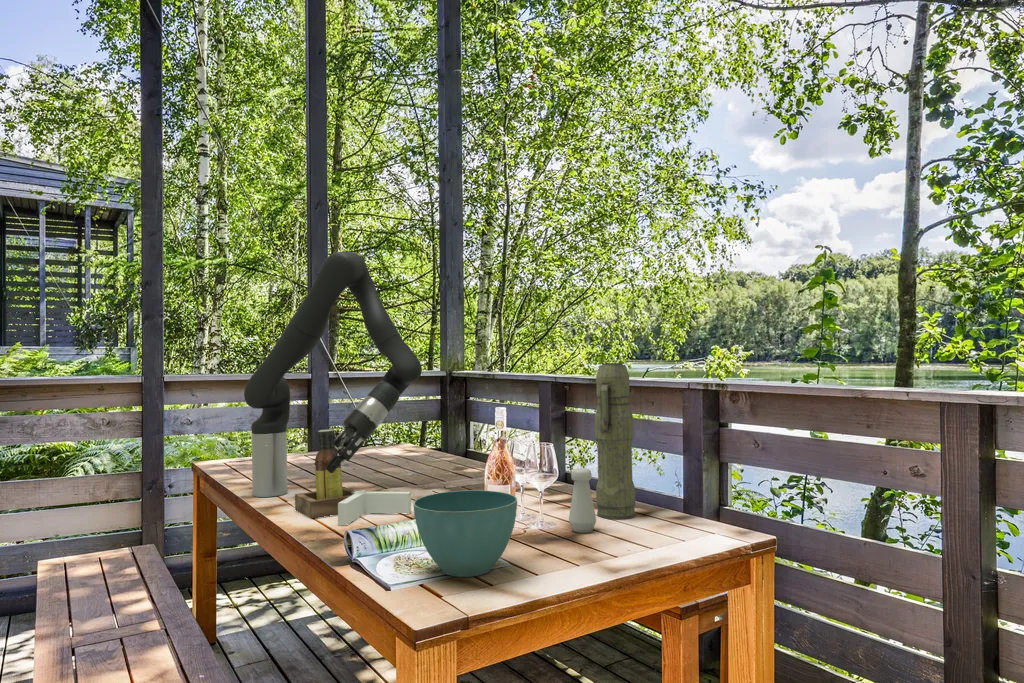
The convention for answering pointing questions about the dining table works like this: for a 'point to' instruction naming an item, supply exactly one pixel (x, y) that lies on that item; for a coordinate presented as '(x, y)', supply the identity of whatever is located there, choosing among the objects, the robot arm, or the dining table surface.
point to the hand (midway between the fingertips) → (322, 468)
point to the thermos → (614, 443)
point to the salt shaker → (582, 502)
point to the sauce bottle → (325, 481)
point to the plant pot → (465, 529)
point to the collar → (319, 504)
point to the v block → (372, 504)
